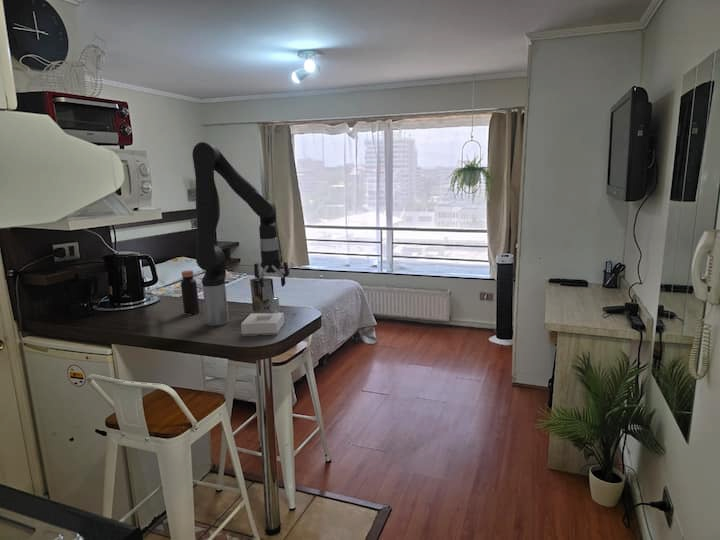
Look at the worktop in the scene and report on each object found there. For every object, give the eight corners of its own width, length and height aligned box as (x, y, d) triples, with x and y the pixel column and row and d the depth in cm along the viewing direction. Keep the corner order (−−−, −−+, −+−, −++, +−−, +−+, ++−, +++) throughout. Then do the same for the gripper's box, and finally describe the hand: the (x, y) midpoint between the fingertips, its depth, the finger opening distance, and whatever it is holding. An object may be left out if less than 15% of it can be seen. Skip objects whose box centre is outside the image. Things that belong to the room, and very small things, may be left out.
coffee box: (276, 313, 211) (273, 278, 208) (264, 316, 206) (261, 281, 203) (264, 309, 217) (261, 276, 214) (252, 313, 213) (249, 278, 209)
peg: (269, 322, 198) (268, 299, 196) (272, 319, 202) (270, 297, 200) (279, 322, 197) (277, 299, 195) (281, 319, 201) (279, 296, 199)
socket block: (242, 336, 181) (240, 324, 180) (251, 324, 195) (250, 313, 194) (277, 335, 181) (276, 323, 180) (284, 324, 194) (283, 312, 193)
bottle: (181, 314, 216) (176, 272, 212) (193, 310, 221) (189, 269, 217) (190, 316, 212) (185, 273, 208) (202, 312, 217) (198, 270, 213)
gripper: (250, 251, 190) (254, 289, 193) (284, 249, 189) (287, 287, 192) (255, 248, 197) (258, 285, 201) (288, 246, 197) (291, 283, 200)
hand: (273, 286), depth 196 cm, fingers open, 8 cm apart
